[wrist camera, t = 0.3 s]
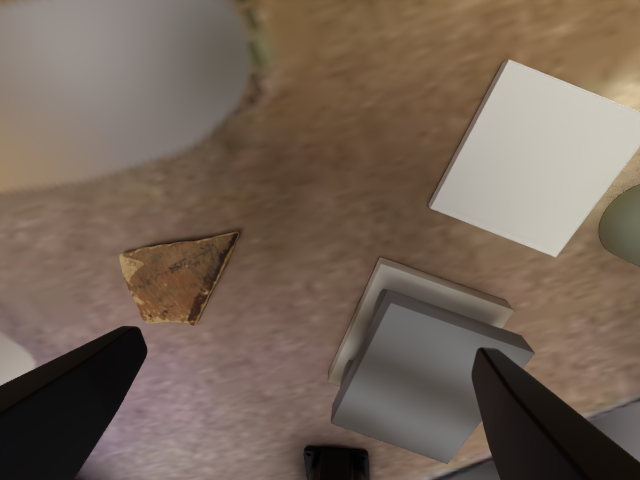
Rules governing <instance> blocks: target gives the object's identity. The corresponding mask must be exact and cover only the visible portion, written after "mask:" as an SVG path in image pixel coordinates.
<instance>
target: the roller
mask: <svg viewBox="0 0 640 480" xmlns="http://www.w3.org/2000/svg"><path fill="white" fill-rule="evenodd" d="M599 237H600V240H601V242H602V244H603V246H604V247H605V248H606V249H607V250H608V251H609V252H611V253H612V254H614V255H616V256H618V257H620V258H622V259H624V260H626V261H628V262H630V263H632V264H634V265H636V266H638V267H640V185H637V186H635V187H632V188H630V189H629V190H627V191H625V192H624V193H622V194H621V195H619V196H618V197H617V198H616V199H615V200H614V201H613V202H612V203H611V204H610V205H609V206H608V208H607V209H606V211H605V212H604V214H603V216H602V218H601V221H600V225H599Z"/></svg>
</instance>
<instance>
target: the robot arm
mask: <svg viewBox="0 0 640 480" xmlns="http://www.w3.org/2000/svg"><path fill="white" fill-rule="evenodd" d="M146 356H147V346H146V343H145V341H144V338H143V335H142V332H141V330H140V329H139V328H138V327H136V326H122V327H119V328H117V329H115V330H113V331H111V332H109V333H107V334H105V335H103V336H101V337H99V338H97V339H95V340H93V341H91V342H89V343H87V344H85V345H83V346H81V347H79V348H76V349H74V350H72V351H70V352H68V353H66V354H64V355H62V356H60V357H58V358H56V359H54V360H52V361H50V362H48V363H46V364H44V365H42V366H40V367H38V368H36V369H33V370H31V371H29V372H27V373H25V374H23V375H21V376H19V377H17V378H15V379H13V380H11V381H9V382H7V383H5V384H3V385H1V386H0V480H74V478H75V477H76V475H77V474H78V472H79V471H80V469H81V467H82V466H83V464H84V463H85V461H86V460H87V458H88V456H89V455H90V453H91V452H92V450H93V449H94V447H95V446H96V444H97V442H98V441H99V439H100V438H101V436H102V435H103V433H104V432H105V430H106V428H107V427H108V425H109V424H110V422H111V421H112V419H113V417H114V416H115V414H116V412H117V411H118V409H119V407H120V405H121V404H122V402H123V400H124V398H125V396H126V394H127V392H128V390H129V388H130V387H131V385H132V383H133V381H134V379H135V377H136V375H137V373H138V371H139V370H140V368H141V366H142V364H143V362H144V360H145V358H146ZM471 377H472V383H473V387H474V391H475V395H476V399H477V402H478V406H479V410H480V414H481V418H482V422H483V426H484V430H485V434H486V438H487V441H488V445H489V448H490V451H491V454H492V457H493V460H494V463H495V466H496V468H497V471H498V474H499V476H500V479H501V480H640V462H639V461H638V460H636V459H635V458H634V457H633V456H631V455H630V454H629V453H628V452H626V451H625V450H624V449H623V448H621V447H620V446H619V445H618V444H616V443H615V442H614V441H612V440H611V439H610V438H609V437H607V436H606V435H605V434H604V433H603V432H601V431H600V430H599V429H598V428H596V427H595V426H594V425H593V424H591V423H590V422H589V421H588V420H586V419H585V418H584V417H583V416H581V415H580V414H579V413H578V412H576V411H575V410H574V409H573V408H571V407H570V406H569V405H568V404H566V403H565V402H564V401H563V400H561V399H560V398H559V397H558V396H556V395H555V394H554V393H553V392H551V391H550V390H549V389H548V388H546V387H545V386H544V385H543V384H541V383H540V382H539V381H538V380H536V379H535V378H534V377H533V376H531V375H530V374H529V373H528V372H526V371H525V370H524V369H523V368H521V367H520V366H519V365H518V364H516V363H515V362H514V361H513V360H511V359H510V358H509V357H508V356H506V355H505V354H504V353H503V352H501V351H500V350H498V349H497V348H488V347H480V348H478V349H477V351H476V355H475V359H474V363H473V367H472V373H471ZM304 459H305V466H306V472H307V479H308V480H370V478H369V455H368V452H366V451H362V450H347V449H331V448H315V447H306V448H305V449H304Z"/></svg>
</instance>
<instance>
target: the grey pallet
mask: <svg viewBox="0 0 640 480" xmlns="http://www.w3.org/2000/svg"><path fill="white" fill-rule="evenodd" d="M513 312H514V309H513V308H512V307H511V306H510V305H509V303H508V302H507V301H505V300H502V299H499V298H496V297H493V296H491V295H488V294H485V293H482V292H479V291H476V290H473V289H470V288H468V287H465V286H462V285H459V284H456V283H453V282H450V281H448V280H445V279H442V278H439V277H436V276H433V275H430V274H427V273H425V272H422V271H419V270H416V269H413V268H410V267H407V266H405V265H402V264H399V263H396V262H393V261H390V260H387V259H384V258H382V257H380V258H379V260H378V262H377V265H376V267H375V269H374V271H373V274H372V276H371V278H370V280H369V282H368V285H367V287H366V289H365V291H364V294H363V296H362V298H361V300H360V303H359V305H358V307H357V309H356V312H355V314H354V316H353V318H352V320H351V323H350V325H349V327H348V329H347V332H346V334H345V336H344V338H343V341H342V343H341V345H340V347H339V350H338V352H337V354H336V356H335V358H334V361H333V363H332V365H331V367H330V370H329V374H328V382H329V383H332V384H335V385H338V386H340V390H339V392H338V394H337V396H336V398H335V400H334V402H333V405H332V416H331V424H334V425H337V426H340V427H343V428H345V429H348V430H351V431H354V432H357V433H360V434H363V435H366V436H368V437H371V438H374V439H377V440H380V441H383V442H386V443H389V444H392V445H394V446H397V447H400V448H403V449H406V450H409V451H412V452H415V453H417V454H420V455H423V456H426V457H429V458H432V459H435V460H438V461H440V462H443V463H446V464H448V463H449V462H450V460H451V459H452V458H453V456H454V455H455V454H456V453H457V451H458V450H459V449H460V448H461V446H462V445H463V444H464V443H465V441H466V440H467V439H468V437H469V436H470V435H471V434H472V432H473V431H474V430H475V429H476V427H477V426H478V425H479V424H480V422H481V421H482V418H481V414H480V410H479V406H478V402H477V399H476V395H475V391H474V387H473V383H472V377H471V373H472V367H473V363H474V359H475V355H476V351H477V349H478V348H480V347H488V348H497V349H498V350H500V351H501V352H503V353H504V354H505V355H506V356H508V357H509V358H510V359H511V360H513V361H514V362H515V363H516V364H518V365H519V366H520V367H521V368H524V367H525V365H526V364H527V363H528V362H529V360H530V359H531V358H532V356H533V355H534V354H535V353H534V351H533V350H532V349H531V347H530V346H529V345H528V344H527V342H526V341H525V340H524V339H523V337H522V336H521V335H518V334H515V333H513V332H510V331H507V330H504V329H502V327H503V326H504V324H505V323H506V322H507V320H508V319H509V317H510V316H511V314H512V313H513Z"/></svg>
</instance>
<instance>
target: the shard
mask: <svg viewBox="0 0 640 480" xmlns="http://www.w3.org/2000/svg"><path fill="white" fill-rule="evenodd" d="M238 237H239V233H238V231H235V232H231V233H227V234H222V235H219V236H215V237H212V238H208V239H202V240H198V241H192V242H186V241H182V242H176V243H173V244H164V245H157V246H155V247H144V248H140V249H137V250H136V251H131V252H125V253H122V254H120V256H119V257H120V263H121V267H122V271H123V277H124V280H125V281H126V283H127V286H128V289H129V291H130V292H131V293H132V296H133V298H134V301H135V302H136V305H137V306H138V309H139V311H140V314H141V316H142V318H143V320H144V321H145V322H147V323H161V322H182V323H188V324H191V325H193V326H194V325H196V324H197V323H198V321H199V318H200V315H201V312H202V310H203V308H204V306H205V305H206V303H207V301H208V298H209V295H210V294H211V292H212V290H213V288H214V286H215V285H216V284H217V281H218V279H219V277H220V275H221V273H222V271H223V269H224V267H225V265H226V263H227V261H228V259H229V258H230V256H231V253H232V251H233V246H234V245H235V243H236V241H237V239H238Z"/></svg>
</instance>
